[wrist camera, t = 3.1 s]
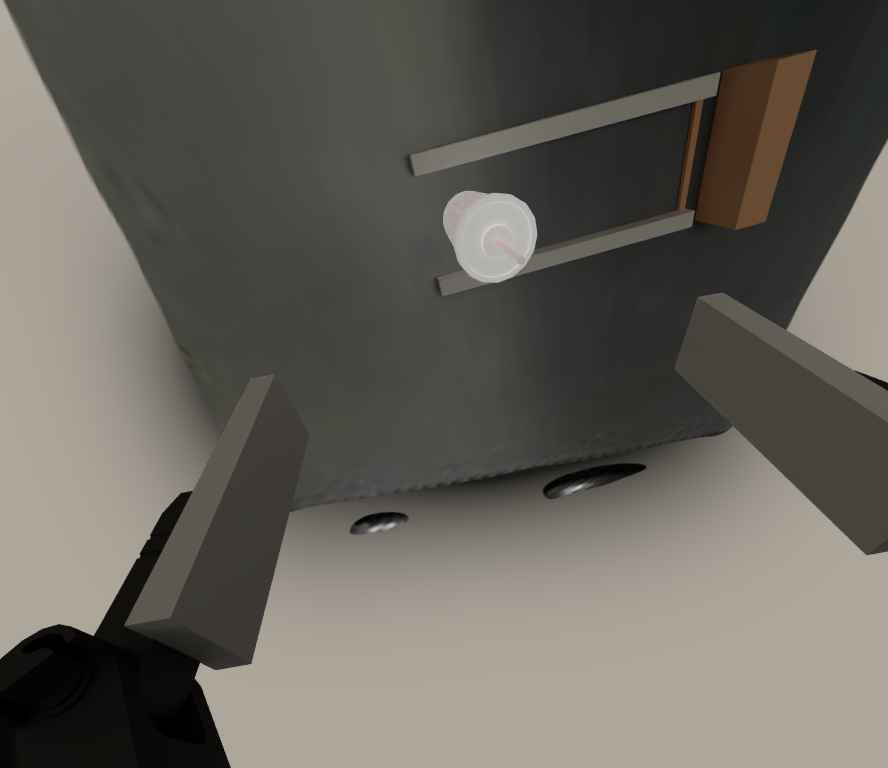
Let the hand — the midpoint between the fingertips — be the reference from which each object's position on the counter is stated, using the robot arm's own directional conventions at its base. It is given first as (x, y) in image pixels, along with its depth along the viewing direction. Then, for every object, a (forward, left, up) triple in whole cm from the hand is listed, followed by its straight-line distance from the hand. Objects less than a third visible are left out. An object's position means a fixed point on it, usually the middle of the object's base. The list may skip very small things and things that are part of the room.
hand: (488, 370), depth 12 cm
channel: (+9, +14, -26) cm, 30 cm away
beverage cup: (+4, +4, -26) cm, 26 cm away
